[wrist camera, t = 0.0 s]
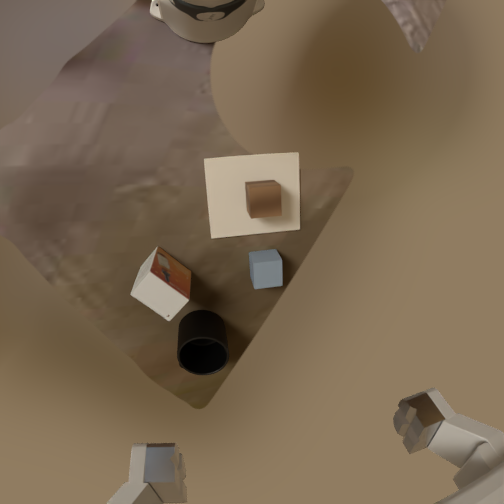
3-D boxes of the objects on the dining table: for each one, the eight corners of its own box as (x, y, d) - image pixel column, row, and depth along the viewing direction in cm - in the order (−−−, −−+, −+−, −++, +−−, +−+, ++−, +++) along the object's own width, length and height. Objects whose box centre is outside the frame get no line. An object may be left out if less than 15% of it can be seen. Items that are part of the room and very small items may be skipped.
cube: (248, 251, 60) (253, 263, 55) (275, 249, 60) (282, 260, 56) (250, 276, 62) (254, 289, 57) (276, 273, 62) (282, 285, 58)
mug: (162, 338, 64) (159, 367, 56) (198, 300, 62) (198, 328, 54) (197, 359, 68) (199, 389, 59) (234, 325, 65) (239, 353, 57)
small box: (192, 271, 59) (191, 300, 50) (173, 291, 60) (169, 323, 51) (157, 244, 56) (149, 270, 47) (139, 266, 57) (129, 295, 48)
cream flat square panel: (203, 158, 52) (203, 159, 52) (298, 152, 54) (298, 152, 53) (211, 237, 57) (211, 238, 57) (299, 229, 59) (300, 229, 59)
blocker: (244, 181, 54) (249, 187, 50) (274, 179, 55) (280, 185, 50) (246, 210, 56) (250, 218, 52) (275, 207, 57) (281, 215, 52)
